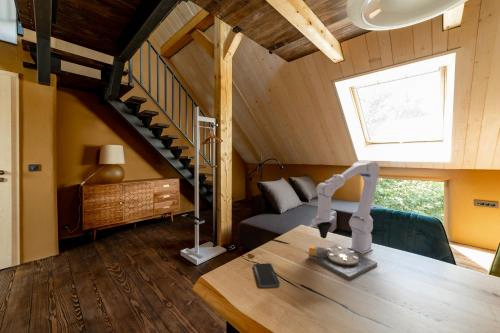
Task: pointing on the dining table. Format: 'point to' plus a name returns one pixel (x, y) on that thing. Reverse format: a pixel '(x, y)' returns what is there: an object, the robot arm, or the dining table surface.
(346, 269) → the base plate
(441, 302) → the dining table surface
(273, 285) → the phone
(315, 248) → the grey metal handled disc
